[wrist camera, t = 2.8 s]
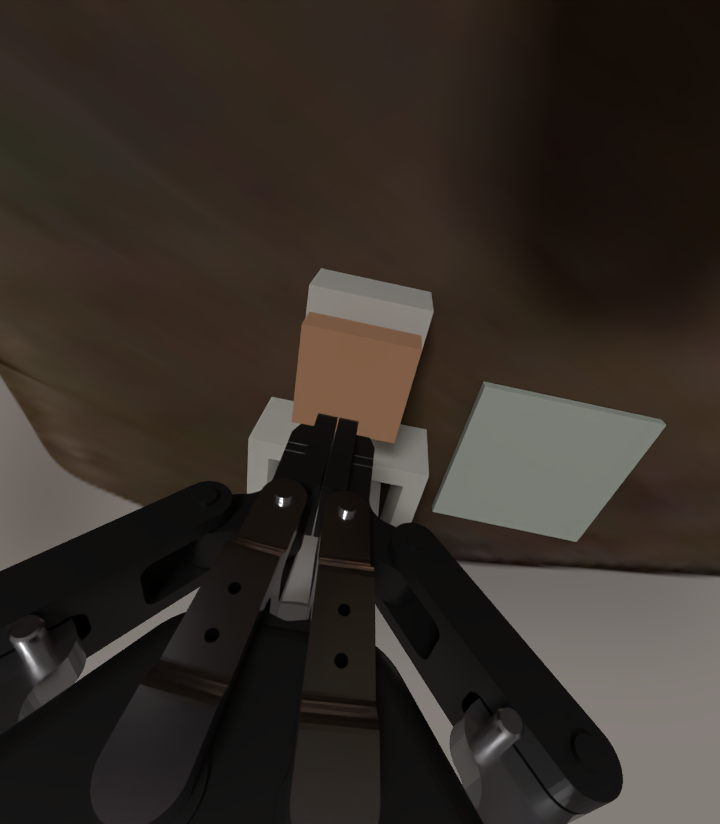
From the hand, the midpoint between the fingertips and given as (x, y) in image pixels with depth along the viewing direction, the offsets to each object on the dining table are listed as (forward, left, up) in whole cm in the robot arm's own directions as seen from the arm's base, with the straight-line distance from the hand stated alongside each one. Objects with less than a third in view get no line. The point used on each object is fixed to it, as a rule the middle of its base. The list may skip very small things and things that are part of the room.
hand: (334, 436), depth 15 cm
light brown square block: (0, 0, -8) cm, 8 cm away
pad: (-13, +7, -10) cm, 18 cm away
